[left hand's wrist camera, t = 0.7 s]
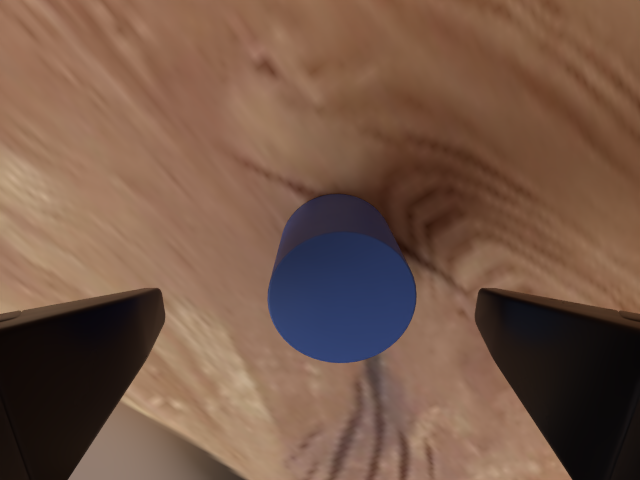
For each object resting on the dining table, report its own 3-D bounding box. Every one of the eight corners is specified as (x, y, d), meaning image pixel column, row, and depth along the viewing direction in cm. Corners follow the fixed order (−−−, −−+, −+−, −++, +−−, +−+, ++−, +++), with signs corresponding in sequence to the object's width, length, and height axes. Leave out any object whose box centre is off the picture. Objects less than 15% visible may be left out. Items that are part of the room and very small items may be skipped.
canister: (275, 289, 16) (260, 354, 12) (288, 185, 15) (276, 221, 11) (379, 303, 16) (398, 371, 12) (402, 202, 15) (433, 243, 11)
